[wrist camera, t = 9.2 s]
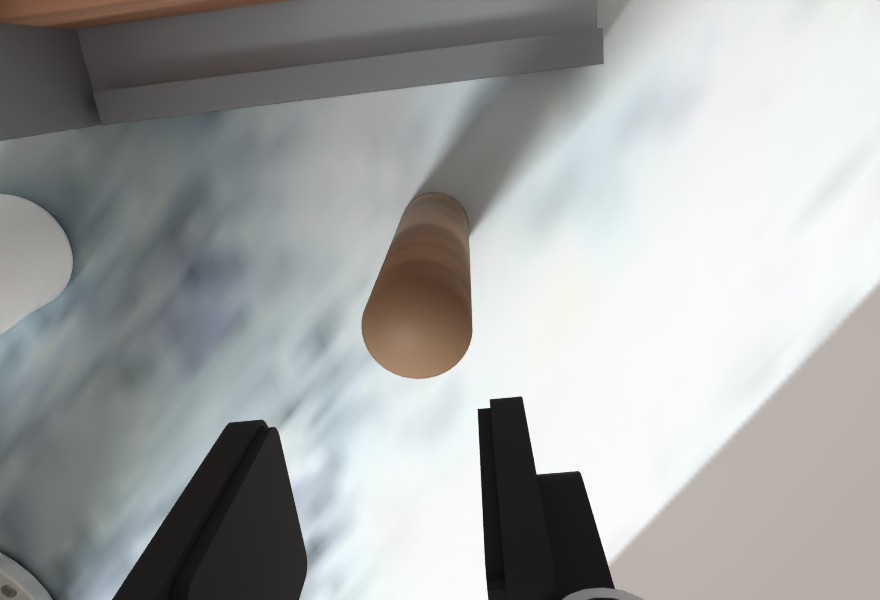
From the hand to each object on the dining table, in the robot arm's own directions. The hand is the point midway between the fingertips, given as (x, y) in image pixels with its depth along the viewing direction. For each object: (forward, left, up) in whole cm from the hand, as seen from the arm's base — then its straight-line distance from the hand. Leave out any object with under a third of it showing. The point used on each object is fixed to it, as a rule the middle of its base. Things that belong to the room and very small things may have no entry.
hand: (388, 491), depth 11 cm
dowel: (0, 0, -19) cm, 19 cm away
